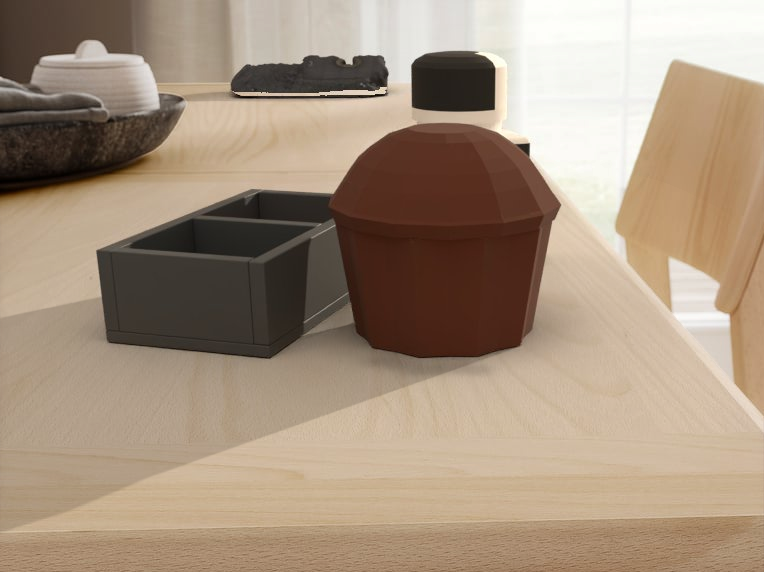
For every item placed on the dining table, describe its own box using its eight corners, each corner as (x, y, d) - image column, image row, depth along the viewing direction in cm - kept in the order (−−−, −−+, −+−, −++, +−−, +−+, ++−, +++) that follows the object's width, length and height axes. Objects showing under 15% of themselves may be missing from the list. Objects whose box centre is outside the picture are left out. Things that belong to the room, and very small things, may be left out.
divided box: (106, 342, 58) (95, 250, 56) (256, 263, 72) (251, 188, 71) (269, 358, 55) (263, 262, 54) (389, 273, 70) (388, 196, 68)
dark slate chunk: (237, 87, 171) (235, 53, 170) (387, 85, 173) (387, 51, 171) (226, 98, 157) (223, 61, 155) (389, 97, 159) (389, 60, 157)
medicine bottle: (424, 258, 74) (422, 58, 69) (392, 235, 80) (388, 49, 75) (529, 250, 76) (534, 55, 71) (490, 227, 82) (492, 47, 77)
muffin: (339, 300, 65) (332, 113, 61) (540, 298, 65) (545, 112, 61) (328, 370, 54) (319, 147, 50) (569, 367, 54) (578, 145, 50)
